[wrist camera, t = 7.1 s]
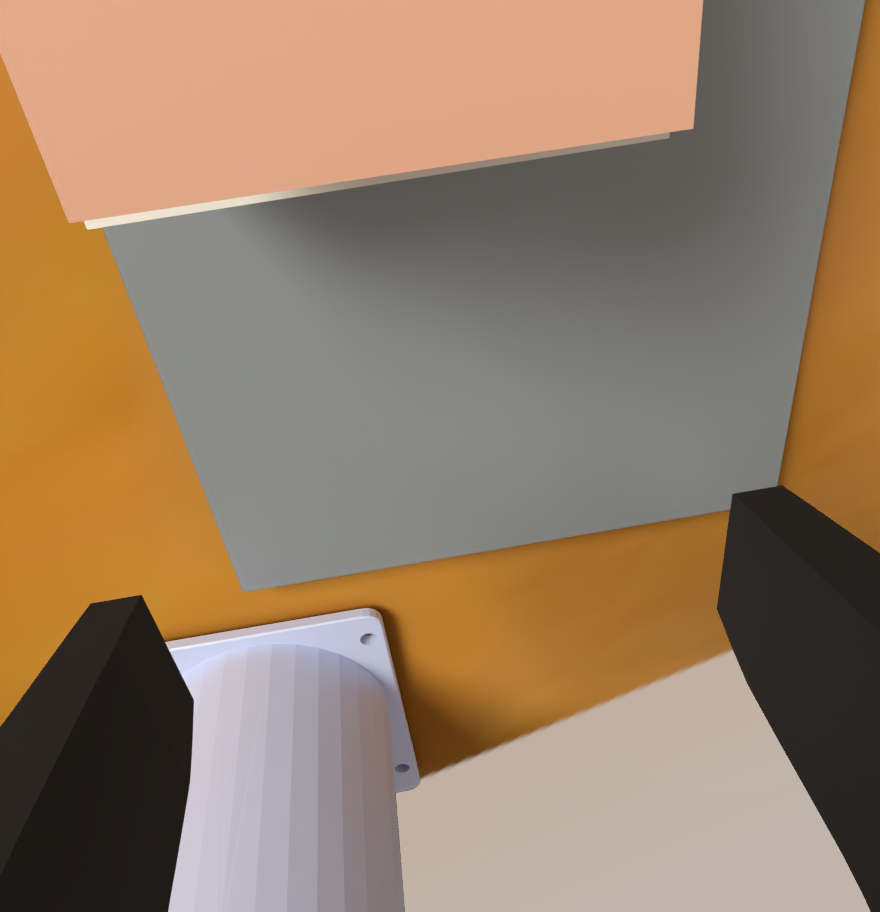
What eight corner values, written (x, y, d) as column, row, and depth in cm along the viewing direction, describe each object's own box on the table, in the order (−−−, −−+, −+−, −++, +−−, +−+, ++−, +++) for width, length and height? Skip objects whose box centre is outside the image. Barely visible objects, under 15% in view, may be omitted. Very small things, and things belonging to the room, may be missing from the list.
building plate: (761, 484, 23) (774, 502, 22) (245, 572, 22) (243, 592, 22) (948, -642, 11) (987, -673, 10) (-154, -495, 10) (-186, -519, 10)
